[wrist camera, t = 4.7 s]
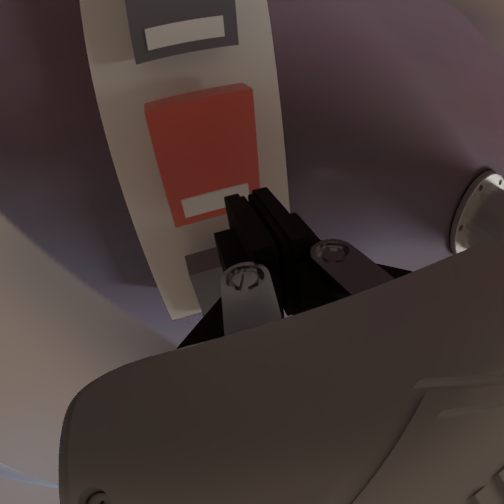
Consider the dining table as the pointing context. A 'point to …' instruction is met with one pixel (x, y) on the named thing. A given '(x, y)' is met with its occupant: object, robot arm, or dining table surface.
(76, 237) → the dining table surface
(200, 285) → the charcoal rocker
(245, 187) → the red rocker
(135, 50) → the charcoal rocker
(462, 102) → the dining table surface
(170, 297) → the rocker switch panel
